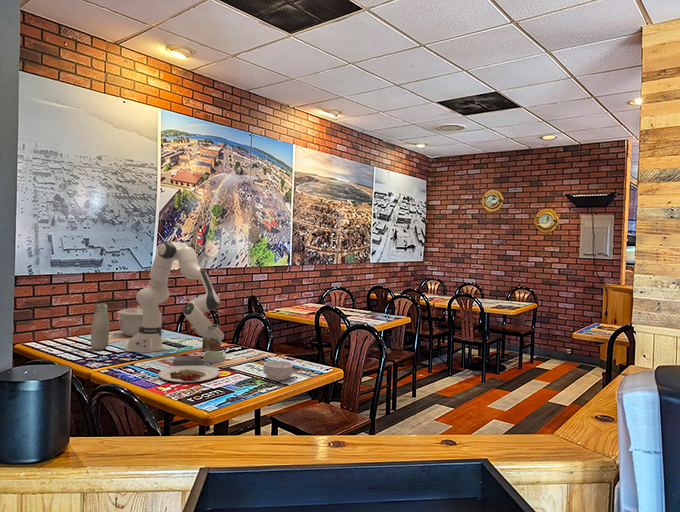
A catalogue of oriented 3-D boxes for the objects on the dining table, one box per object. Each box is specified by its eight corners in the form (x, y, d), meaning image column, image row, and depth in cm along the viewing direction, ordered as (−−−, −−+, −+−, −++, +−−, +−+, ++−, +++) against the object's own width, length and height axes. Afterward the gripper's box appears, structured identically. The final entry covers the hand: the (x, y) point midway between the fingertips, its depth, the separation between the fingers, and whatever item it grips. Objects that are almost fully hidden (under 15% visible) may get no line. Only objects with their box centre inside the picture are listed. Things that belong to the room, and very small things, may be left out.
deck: (173, 365, 270) (173, 360, 270) (175, 361, 280) (176, 355, 280) (199, 365, 273) (199, 360, 273) (201, 361, 283) (201, 356, 283)
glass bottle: (93, 352, 290) (94, 305, 289) (88, 348, 298) (90, 302, 297) (110, 350, 297) (112, 304, 296) (105, 347, 304) (107, 302, 303)
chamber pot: (131, 340, 325) (132, 309, 325) (107, 334, 340) (108, 305, 340) (167, 335, 349) (168, 306, 348) (143, 329, 364) (144, 302, 363)
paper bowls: (296, 376, 262) (296, 361, 262) (286, 384, 248) (287, 368, 247) (269, 373, 266) (269, 358, 266) (258, 380, 251) (259, 365, 251)
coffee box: (219, 349, 314) (220, 324, 314) (215, 351, 308) (216, 326, 308) (205, 348, 315) (206, 323, 315) (201, 350, 309) (202, 325, 308)
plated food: (197, 365, 274) (197, 359, 274) (231, 377, 255) (231, 371, 255) (146, 375, 251) (146, 368, 250) (179, 389, 232) (180, 382, 231)
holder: (202, 361, 282) (203, 356, 282) (204, 356, 294) (204, 351, 294) (224, 362, 284) (224, 356, 284) (225, 357, 296) (225, 351, 296)
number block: (215, 351, 286) (216, 334, 285) (209, 350, 288) (210, 333, 288) (220, 350, 289) (221, 333, 289) (214, 349, 292) (215, 332, 291)
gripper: (219, 323, 277) (231, 338, 285) (195, 319, 288) (207, 333, 297) (212, 332, 273) (225, 347, 281) (188, 327, 285) (201, 342, 293)
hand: (216, 340), depth 289 cm, fingers closed on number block, 5 cm apart
